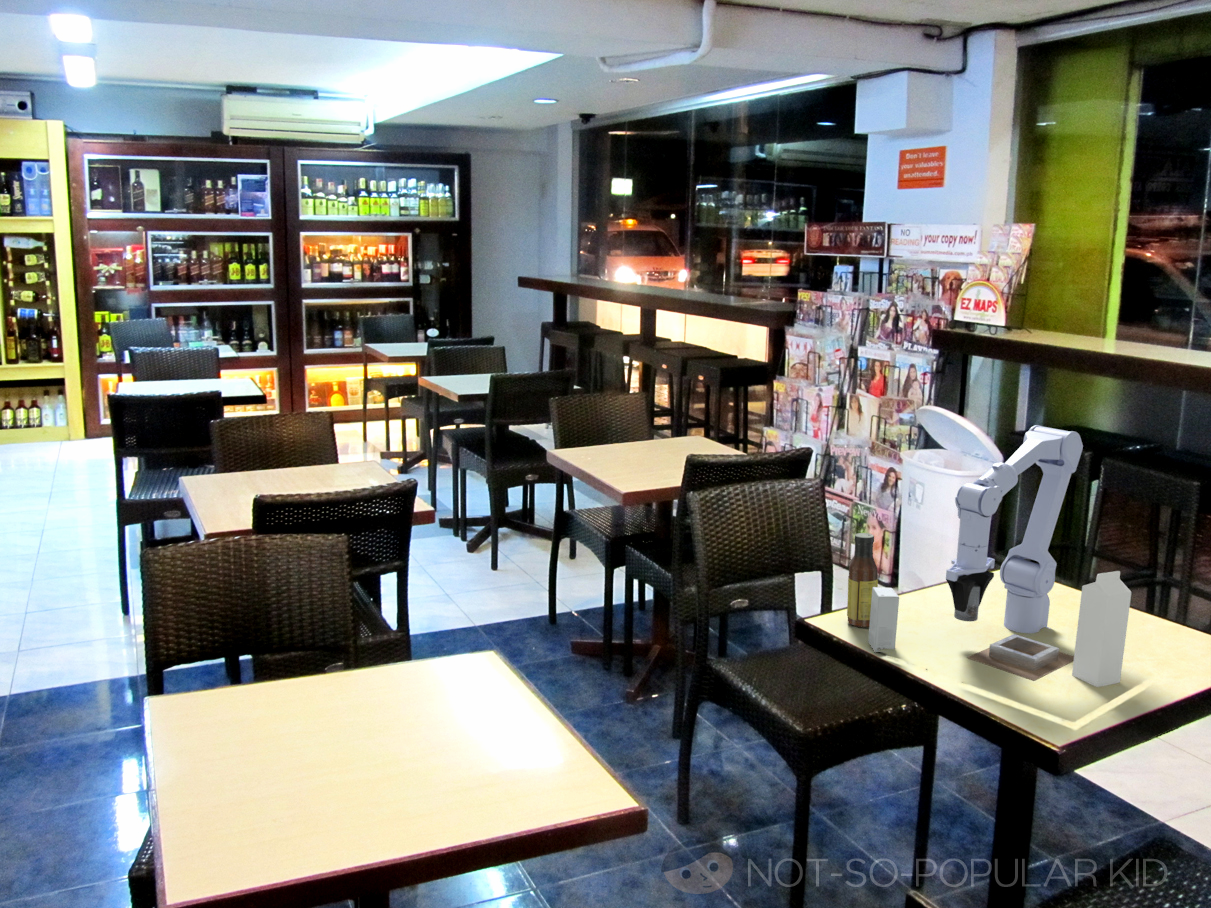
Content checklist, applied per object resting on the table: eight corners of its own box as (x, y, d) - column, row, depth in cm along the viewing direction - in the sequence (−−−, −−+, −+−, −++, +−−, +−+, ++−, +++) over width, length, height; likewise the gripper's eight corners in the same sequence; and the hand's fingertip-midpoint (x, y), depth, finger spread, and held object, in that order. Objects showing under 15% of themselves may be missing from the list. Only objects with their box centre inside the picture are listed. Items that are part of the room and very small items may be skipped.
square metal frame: (1013, 645, 216) (1014, 634, 215) (1057, 659, 209) (1059, 648, 208) (988, 656, 210) (989, 644, 209) (1033, 671, 203) (1035, 659, 202)
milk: (1119, 687, 199) (1135, 575, 194) (1095, 692, 196) (1111, 579, 192) (1093, 675, 204) (1107, 566, 199) (1069, 679, 202) (1084, 569, 197)
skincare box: (895, 653, 212) (899, 597, 210) (874, 653, 213) (878, 596, 210) (888, 642, 218) (892, 587, 216) (867, 641, 219) (871, 586, 216)
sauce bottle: (879, 622, 230) (886, 534, 226) (870, 631, 224) (877, 541, 220) (850, 616, 233) (856, 529, 229) (840, 624, 228) (846, 535, 224)
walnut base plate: (1013, 641, 220) (1013, 636, 220) (1078, 662, 210) (1079, 657, 210) (966, 662, 209) (966, 657, 209) (1033, 685, 198) (1033, 680, 198)
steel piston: (962, 612, 217) (964, 579, 216) (981, 618, 214) (984, 585, 213) (949, 616, 215) (952, 583, 213) (969, 623, 211) (972, 589, 210)
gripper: (974, 532, 219) (969, 595, 221) (934, 544, 210) (929, 609, 212) (1006, 540, 213) (1000, 604, 216) (966, 553, 204) (960, 619, 207)
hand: (967, 607), depth 214 cm, fingers closed on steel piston, 4 cm apart
